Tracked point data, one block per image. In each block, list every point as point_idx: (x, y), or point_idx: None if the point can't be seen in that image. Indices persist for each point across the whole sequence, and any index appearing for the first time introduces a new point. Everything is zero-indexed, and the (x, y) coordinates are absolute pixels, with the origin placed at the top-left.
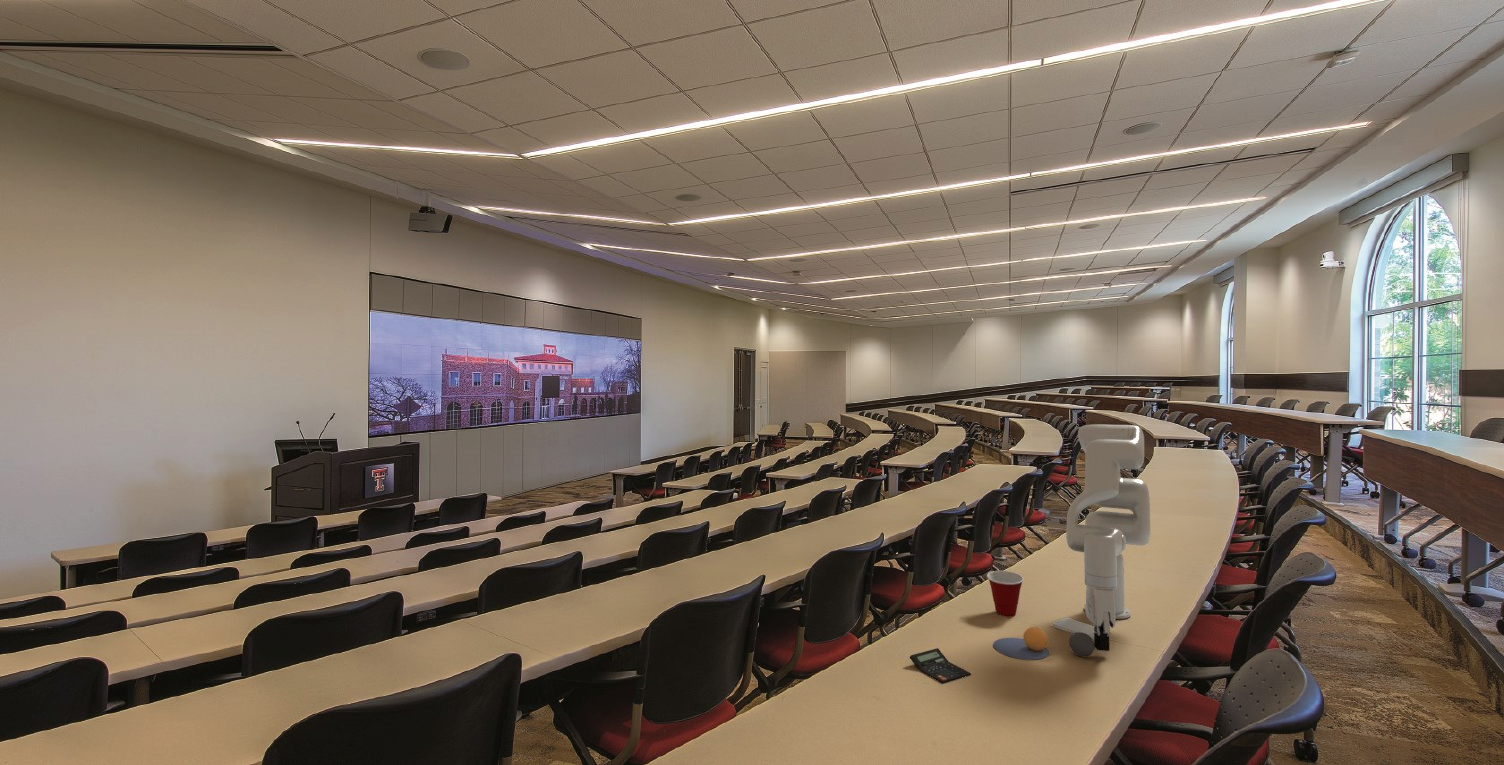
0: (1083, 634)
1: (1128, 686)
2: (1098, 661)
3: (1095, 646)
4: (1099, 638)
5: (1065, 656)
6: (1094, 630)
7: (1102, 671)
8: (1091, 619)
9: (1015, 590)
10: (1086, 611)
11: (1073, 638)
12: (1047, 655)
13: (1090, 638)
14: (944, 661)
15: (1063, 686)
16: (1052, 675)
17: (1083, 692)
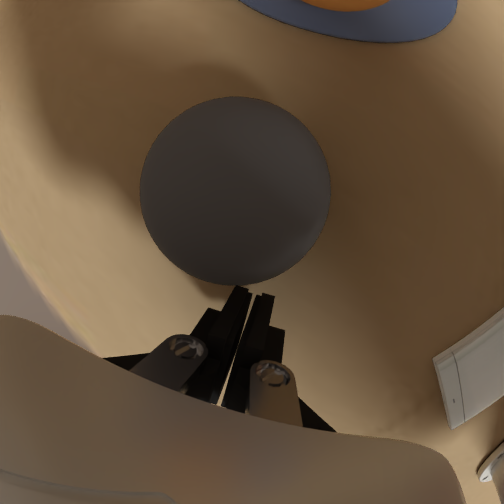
0: (175, 204)
1: (17, 233)
2: None
3: (259, 297)
4: (205, 339)
5: (246, 88)
6: (287, 372)
7: (86, 201)
8: (77, 391)
9: None
10: (407, 494)
11: (203, 107)
12: (248, 4)
13: (171, 256)
14: None
15: (32, 37)
16: (83, 8)
17: (5, 85)
